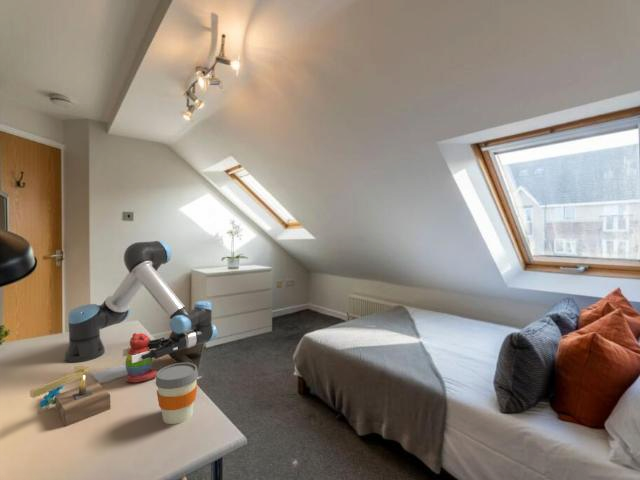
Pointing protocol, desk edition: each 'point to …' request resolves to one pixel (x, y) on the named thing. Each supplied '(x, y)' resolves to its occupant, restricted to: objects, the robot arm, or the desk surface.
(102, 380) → the mat
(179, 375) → the reusable coffee cup
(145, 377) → the stacking bear
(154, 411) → the desk surface
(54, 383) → the gold piece
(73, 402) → the lock block
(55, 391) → the gear
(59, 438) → the desk surface
